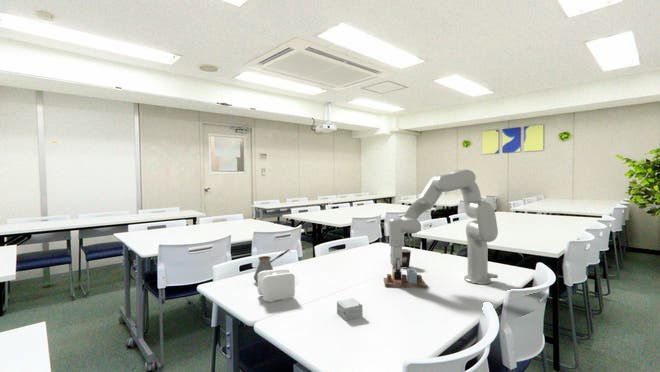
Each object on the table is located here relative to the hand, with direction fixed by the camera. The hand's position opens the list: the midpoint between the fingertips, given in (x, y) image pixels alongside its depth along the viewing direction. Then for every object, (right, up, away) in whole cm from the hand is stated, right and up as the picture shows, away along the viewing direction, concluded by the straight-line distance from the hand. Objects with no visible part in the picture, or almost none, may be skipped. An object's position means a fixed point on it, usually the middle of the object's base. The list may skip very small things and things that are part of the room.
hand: (396, 277), depth 158 cm
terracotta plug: (0, -2, 0) cm, 2 cm away
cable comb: (+4, -4, 0) cm, 5 cm away
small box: (-27, -5, -36) cm, 45 cm away
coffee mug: (+10, -3, +32) cm, 34 cm away
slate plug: (+7, -2, -1) cm, 8 cm away
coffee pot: (-65, -4, +8) cm, 65 cm away
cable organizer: (-59, -5, -17) cm, 61 cm away
